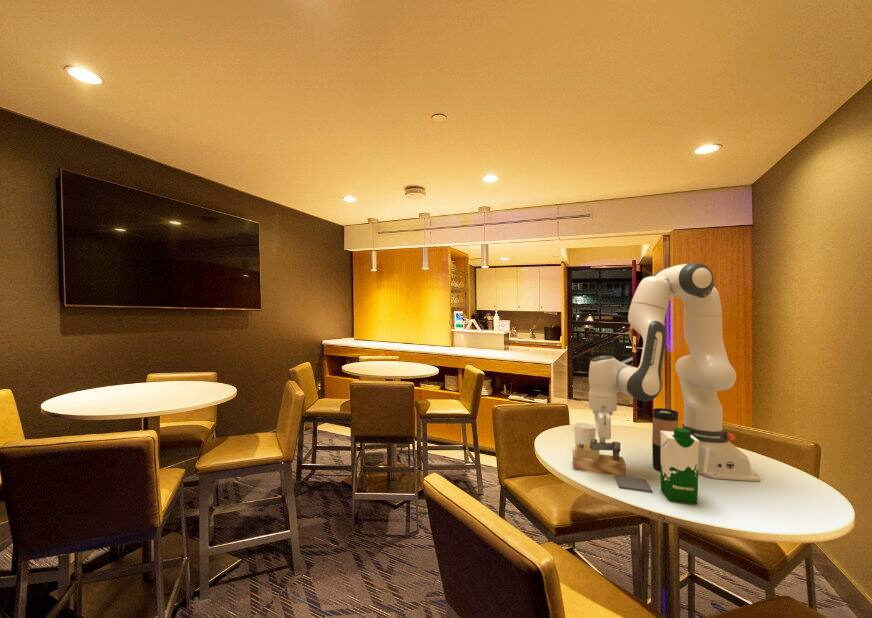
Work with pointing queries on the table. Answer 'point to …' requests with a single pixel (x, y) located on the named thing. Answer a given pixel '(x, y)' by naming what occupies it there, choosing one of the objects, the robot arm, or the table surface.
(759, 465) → the table surface
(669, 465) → the milk carton
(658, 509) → the table surface
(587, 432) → the white cup
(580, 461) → the plane body
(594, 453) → the gold block with knob
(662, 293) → the robot arm
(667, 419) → the travel mug
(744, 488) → the table surface
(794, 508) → the table surface
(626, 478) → the rubber mat
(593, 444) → the lever
